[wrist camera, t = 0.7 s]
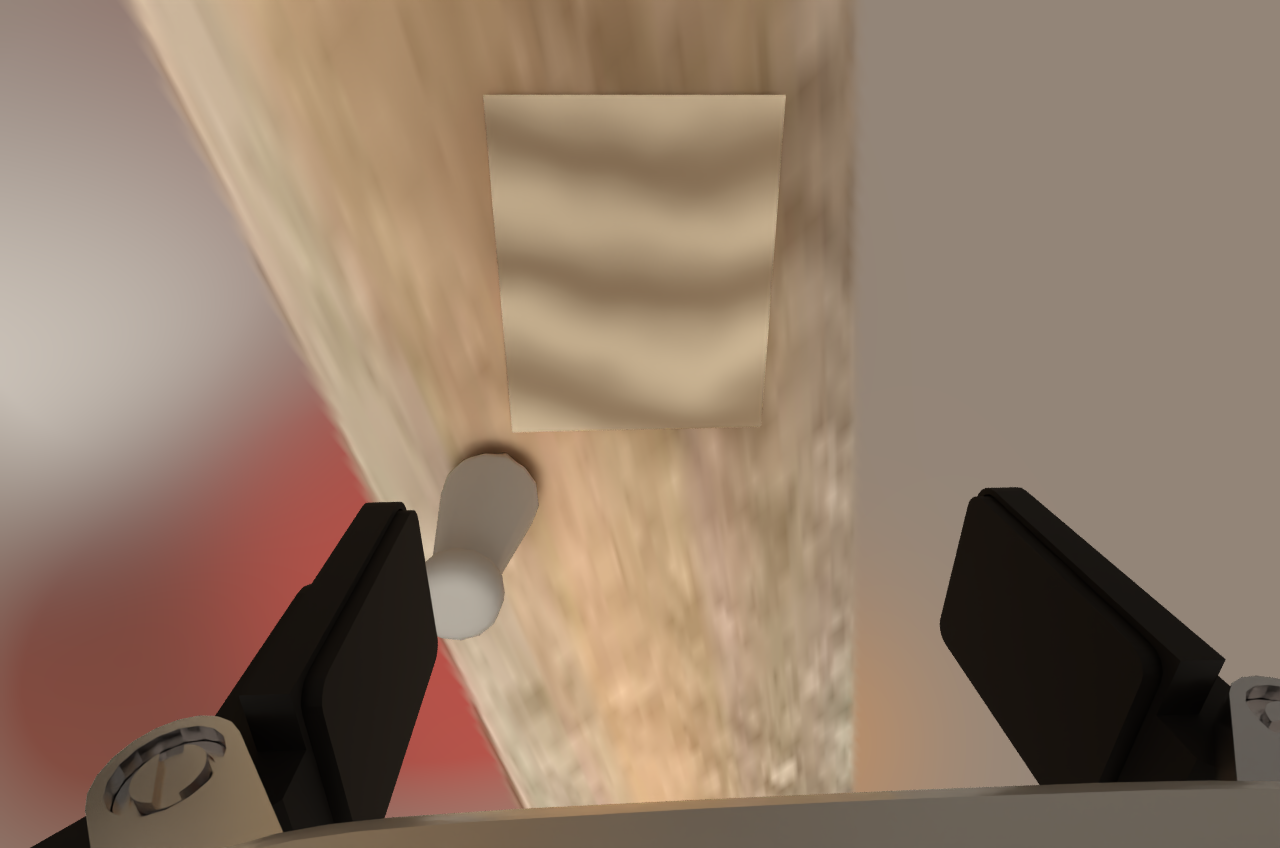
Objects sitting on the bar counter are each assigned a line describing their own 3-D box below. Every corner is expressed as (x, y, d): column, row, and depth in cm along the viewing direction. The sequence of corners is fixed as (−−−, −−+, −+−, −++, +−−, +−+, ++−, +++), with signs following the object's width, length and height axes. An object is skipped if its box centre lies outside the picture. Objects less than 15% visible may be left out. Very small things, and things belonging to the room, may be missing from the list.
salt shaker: (558, 495, 42) (540, 631, 30) (485, 534, 43) (437, 680, 31) (509, 423, 40) (467, 538, 28) (432, 465, 41) (359, 594, 29)
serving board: (488, 97, 33) (483, 94, 32) (778, 97, 34) (785, 95, 32) (515, 422, 40) (512, 432, 38) (755, 417, 40) (761, 426, 39)
